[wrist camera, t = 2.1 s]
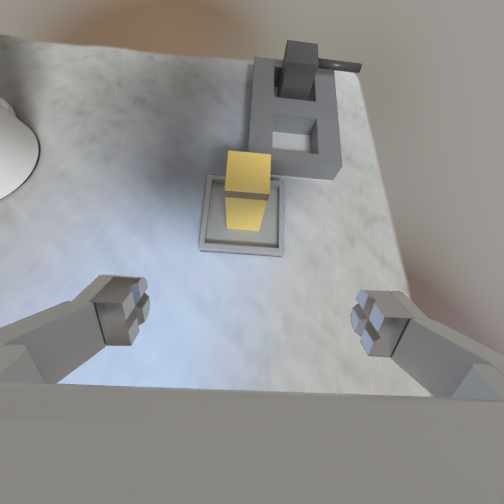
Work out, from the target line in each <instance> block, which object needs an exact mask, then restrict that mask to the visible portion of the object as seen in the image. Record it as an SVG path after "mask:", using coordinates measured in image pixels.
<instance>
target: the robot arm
mask: <svg viewBox="0 0 504 504" xmlns="http://www.w3.org/2000/svg"><path fill="white" fill-rule="evenodd" d="M37 158H38V142H37V139H36V137H35V135H34V133H33V132H32V130H31V129H30V128H29V127H28V126H27V125H25V124H24V123H23V122H21V121H20V120H19V119H18V118H17V117H16V115H15V112H14V110H13V108H12V106H11V105H10V104H9V103H7V102H6V101H5V100H4V99H2V98H0V199H2V198H3V197H5V196H7V195H8V194H10V193H11V192H13V191H14V190H15V189H16V188H18V187H19V186H20V185H21V184H22V183H23V182H24V181H25V180H26V179H27V177H28V176H29V175H30V173H31V172H32V170H33V168H34V166H35V164H36V161H37ZM147 288H148V286H147V281H146V279H145V278H144V277H131V276H118V275H117V276H116V275H99V276H98V277H97V278H96V279H95V280H94V281H93V282H92V283H91V284H90V285H89V286H87V287H86V288H85V289H84V290H83V291H82V292H81V293H80V294H79V295H78V296H77V297H76V298H75V299H74V300H72V301H66V302H63V303H61V304H58V305H56V306H53V307H51V308H49V309H46V310H44V311H41V312H39V313H36V314H34V315H31V316H29V317H26V318H24V319H21V320H19V321H17V322H14V323H12V324H9V325H7V326H4V327H2V328H0V504H504V356H503V355H501V354H499V353H497V352H495V351H493V350H491V349H489V348H487V347H485V346H483V345H482V344H480V343H478V342H476V341H474V340H472V339H470V338H468V337H466V336H464V335H462V334H460V333H458V332H456V331H454V330H452V329H451V328H448V327H447V326H444V325H443V324H441V323H439V322H437V321H435V320H429V319H428V318H427V317H426V315H425V314H424V313H422V311H421V310H419V308H418V307H417V306H416V305H414V303H413V302H412V301H411V300H410V299H409V298H408V297H407V296H406V295H405V294H404V293H402V292H400V291H372V290H360V291H359V292H358V294H357V297H356V300H357V302H358V304H357V305H355V306H354V307H353V308H352V312H351V324H352V327H353V329H354V331H355V332H356V333H357V334H358V335H360V336H361V339H360V342H361V344H362V346H363V348H364V350H365V352H366V353H367V355H368V356H375V357H389V358H391V359H392V360H393V361H394V362H395V363H397V364H398V365H399V366H400V367H401V368H402V369H403V370H405V371H406V372H407V373H408V374H409V375H410V376H411V377H413V378H414V379H415V380H416V381H417V382H418V383H420V384H421V385H422V386H423V387H424V388H425V389H426V390H428V391H429V392H430V393H431V394H432V395H433V396H435V397H420V396H391V395H363V394H335V393H308V392H279V391H250V390H222V389H193V388H164V387H136V386H107V385H79V384H56V383H58V382H59V381H60V380H62V379H63V378H64V377H66V376H67V375H68V374H70V373H71V372H72V371H74V370H75V369H76V368H78V367H79V366H80V365H82V364H83V363H84V362H86V361H87V360H88V359H90V358H91V357H92V356H94V355H95V354H96V353H98V352H99V351H100V350H102V349H103V348H104V347H105V345H111V346H131V345H132V344H133V342H134V340H135V338H136V336H137V335H138V333H139V325H141V324H142V323H144V322H145V320H146V318H147V316H148V313H149V309H150V300H149V296H148V295H147V294H146V293H145V291H146V289H147Z"/></svg>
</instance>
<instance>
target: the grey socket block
mask: <svg viewBox="0 0 504 504" xmlns="http://www.w3.org/2000/svg"><path fill="white" fill-rule="evenodd" d="M361 65H362V64H360V63H352V62H344V61H336V60H328V59H320V58H318V44H313V43H305V42H298V41H290V40H287V44H286V49H285V55H284V59H283V60H276V59H268V58H259V57H254V68H253V80H252V95H251V111H250V126H249V142H248V152H250V153H261V154H271V171H270V177H277V178H288V179H298V180H309V181H320V182H332V181H333V179H334V178H335V176H336V175H337V173H338V172H339V170H340V169H341V167H342V157H341V146H340V134H339V123H338V111H337V100H336V89H335V77H334V70H337V71H345V72H353V73H359V72H360V70H361Z"/></svg>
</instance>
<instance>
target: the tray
mask: <svg viewBox="0 0 504 504" xmlns="http://www.w3.org/2000/svg"><path fill="white" fill-rule="evenodd" d="M225 178H226V176H221V175H210V174H208V176H207V184H206V192H205V199H204V207H203V215H202V223H201V231H200V239H199V247H198V248H199V250H200V251H203V252H218V253H232V254H246V255H260V256H275V257H282V256H283V254H284V181H276V180H270V195H269V199H268V201H267V204H266V207H265V211H264V214H263V218H262V222H261V225H260V229H259V231H249V230H236V229H227V224H226V204H225V196H224V188H225Z"/></svg>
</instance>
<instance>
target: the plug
mask: <svg viewBox="0 0 504 504" xmlns="http://www.w3.org/2000/svg"><path fill="white" fill-rule="evenodd" d="M270 171H271V154H261V153H250V152H240V151H230V150H228V158H227V168H226V178H225V188H224V196H225V204H226V224H227V229H236V230H249V231H259V229H260V225H261V222H262V218H263V214H264V211H265V207H266V204H267V201H268V199H269V195H270Z"/></svg>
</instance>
